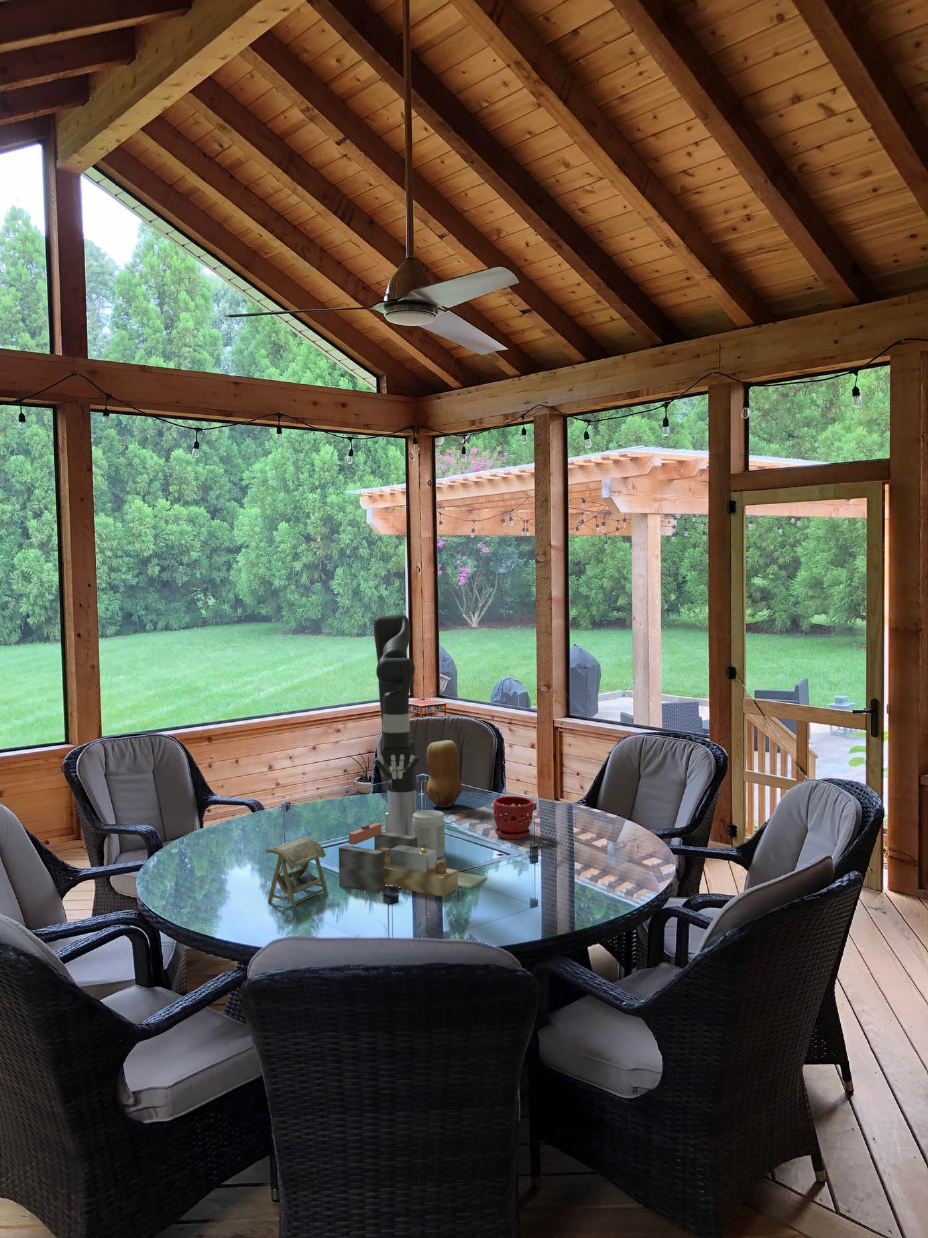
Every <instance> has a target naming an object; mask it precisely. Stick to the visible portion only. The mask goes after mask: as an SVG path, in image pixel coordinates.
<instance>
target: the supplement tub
mask: <svg viewBox="0 0 928 1238" xmlns="http://www.w3.org/2000/svg"><path fill="white" fill-rule="evenodd" d="M445 831H446V829H445V814H444V812H443V811H440V810H436V809H435V810H434V809H432V810H431V809H429V810H427V809H426V810H424V809H423V810H418V811H416V812H415V813H414V814H413V836H417V848H427V849H429V850H436V861H437V860H445V861H446V838H445V837H446V836H445V835H446V834H445V833H446V832H445Z"/></svg>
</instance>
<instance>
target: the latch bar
mask: <svg viewBox="0 0 928 1238" xmlns="http://www.w3.org/2000/svg"><path fill="white" fill-rule="evenodd" d="M381 831H382V824H381V823H380V822H374V823H372V824H362V825H360V828H359V829H356V830H354V831H351V832H348V845H351V846H355V845H358V844H360V843H363V842H365V841H367V840H370V839H374V837H375V836H378V835H380V834H381Z"/></svg>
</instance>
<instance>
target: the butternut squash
mask: <svg viewBox="0 0 928 1238" xmlns="http://www.w3.org/2000/svg"><path fill="white" fill-rule="evenodd" d="M426 762H427V767H428V771H429V772H428V773H429V777H428V780H427V783H426V795H427V797H428V799H429V801H431V802H432V803H433V804H435V805H436V806H437V807H438V808H451V807H452V806H454V804H455V803H456V802H457V800H458V799H459V797H460V795H461V794H462V791H463V790H462V789H463V784H462V781H461V779H460V772H459V770H460V765H461V764H460V755H459V750H458V746H457V744H456V743H455V741H454V740H451V739H449V740H448V739H444V740H439V741H433V742H431V743H430V744H429V745H428V746H427V749H426Z"/></svg>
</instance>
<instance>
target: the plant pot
mask: <svg viewBox="0 0 928 1238" xmlns="http://www.w3.org/2000/svg"><path fill="white" fill-rule="evenodd" d="M492 808H493V820H494V822H495V825H496V827H495V829H494V832H495V834H496V836H498V837H499V838H502V839H507V840H520V839H524V838H527V837H528V836H529V835H530V834H531V830H530V829H529V828H530V826H531V824H532V821H533V815H534V814H533V813H534V801H533V800H532V799H530V798H529V797H528V798H527V797H523V796H516V795H514V796H512V795H510V796H509V795H506V796H500V797H497V798H495V799H493V807H492Z"/></svg>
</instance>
